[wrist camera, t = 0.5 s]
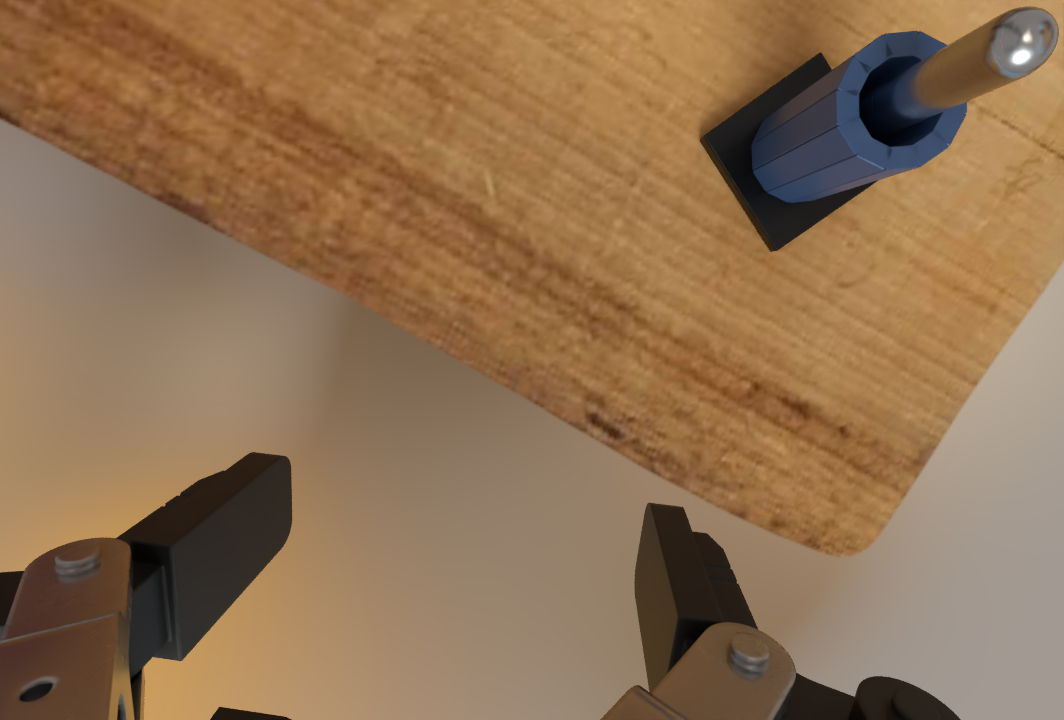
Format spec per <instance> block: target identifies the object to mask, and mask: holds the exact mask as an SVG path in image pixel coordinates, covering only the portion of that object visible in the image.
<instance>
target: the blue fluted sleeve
mask: <svg viewBox="0 0 1064 720" xmlns="http://www.w3.org/2000/svg"><path fill="white" fill-rule="evenodd" d="M946 46H948V45H946V44H944V43H942V42H940V41H938V40H936V39H934V38H932V37H931V36H929V35H927V34H925V33H923V32H921V31H919V32H918V31H910V32H900V33H889V34H884V35H881V36H880V37H878V38H877V39H875V40H874V41H873V42H871V43H870V44H868V45H867V46H866V47H864V48H863V49H861V50H860V51H859V52H857V53H856V54H854V55H853V56H852V57H850V58H849V59H847V60H846V61H845V62H843V63H842V64H840V65H839V66H838V67H836V68H835V69H833V70H832V71H831V72H829V73H828V74H827V75H825V76H824V77H822V78H821V79H820V80H818V81H817V82H815V83H814V84H813V85H811V86H810V87H808V88H807V89H806V90H804V91H803V92H802V93H800V94H799V95H797V96H796V97H795V98H793V99H792V100H790V101H789V102H788V103H786V104H785V105H783V106H782V107H781V108H779V109H778V110H776V111H775V112H774V113H772V114H771V115H770V116H768V117H767V118H765V119H764V121H763V122H762V123H761V125H760V128H759V130H758V132H757V134H756V136H755V138H754V140H753V142H752V144H753V145H752V146H751V149H752V170H753V173H754V175H755V176H756V178H757V179H758V181H759V182H760V184H761V186H762V187H763V189H764V190H765V191H767V193H769V194H771V195H773V196H775V197H777V198H779V199H781V200H783V201H785V202H789V203H794V202H805V201H813V200H816V199H819V198H822V197H826V196H829V195H832V194H835V193H838V192H842V191H845V190H848V189H851V188H854V187H858V186H861V185H864V184H867V183H870V182H874V181H877V180H880V179H883V178H886V177H890V176H893V175H896V174H899V173H902V172H906V171H909V170H912V169H915V168H918V167H921V166H922V165H924V164H925V163H927V162H928V161H930V160H931V159H932V158H934V157H935V156H937V155H938V154H940V153H941V152H943V151H944V150H945V149H947V148H948V146H950V144H951V143H952V141H953V139H954V137H955V135H956V133H957V131H958V129H959V127H960V126H961V124H962V122H963V120H964V118H965V116H966V114H965V113H966V112H967V102H965V103H962V104H960V105H958V106H955V107H953V108H951V109H948V110H946V111H944V112H941V113H939V114H937V115H934V116H932V117H930V118H927V119H925V120H923V121H920V122H918V123H916V124H913V125H911V126H909V127H906V128H904V129H902V130H899V131H897V132H895V133H892V134H890V135H888V136H885V137H883V138H881V139H878V140H875V139H874V138H872V137H871V136H870V134H869V132H868V131H867V129H866V127H865V126H864V124H863V122H862V121H861V119H860V117H859V97H860V96H862V95H863V94H865V93H867V92H868V91H870V90H872V89H874V88H875V87H877V86H879V85H881V84H882V83H884V82H886V81H887V80H889V79H891V78H893V77H894V76H896V75H898V74H899V73H901V72H903V71H905V70H906V69H908V68H910V67H912V66H913V65H915V64H917V63H918V62H920V61H922V60H924V59H925V58H927V57H929V56H930V55H932V54H934V53H936V52H937V51H939V50H941V49H942V48H944V47H946Z"/></svg>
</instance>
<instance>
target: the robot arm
mask: <svg viewBox="0 0 1064 720" xmlns="http://www.w3.org/2000/svg"><path fill="white" fill-rule="evenodd" d="M291 524H292V489H291V465H290V461H289V459H288V458H287V457H286V456H280V455H272V454H271V455H270V454H264V453H256V452H252V453H249V454H248V455H246V456H245V457H243V458H242V459H241V460H239V461H238V462H237V463H235V464H234V465H232V466H231V467H230V468H228V469H227V470H226V471H221V472H219V473H216V474H214V475H211V476H208V477H206V478H203V479H201V480H199V481H197V482H196V483H194V484H193V485H191V486H190V487H189V488H187V489H186V490H185V491H183V492H181V494H180V496H176V497H174V498H173V499H172V500H170V501H169V502H167V503H166V505H165V507H163V506H162V507H160V508H159V509H157V510H156V511H154V512H153V513H151V514H150V515H149V516H147V517H146V518H144V519H143V520H142V521H140V522H139V523H137V524H136V525H135V526H133V527H131V528H130V529H129V530H127V531H126V532H125V533H123V534H121V535H120V536H119V537H117V538H116V539H115V538H92V539H85V540H80V541H75V542H72V543H68V544H65V545H63V546H60V547H57V548H55V549H53V550H50V551H48V552H46V553H45V554H43V555H41V556H39V557H38V558H36V559H35V560H34V561H33V562H32V563H30V564H29V565H28V567H27V568H26V569H25V571H16V572H2V573H0V720H144V694H145V677H144V668H143V667H144V666H145V665H146V663H147V662H148V661H149V660H150V659H151V658H152V657H157V658H164V659H170V660H177V661H182V660H183V659H184V658H185V657H186V655H187V654H188V653H189V652H190V651H191V650H192V649H193V648H194V647H195V645H196V644H197V643H198V642H199V641H200V640H201V639H202V637H203V636H204V635H205V634H206V633H207V632H208V631H209V630H210V628H211V627H212V626H213V625H214V624H215V623H216V622H217V620H218V619H219V618H220V617H221V616H222V615H223V614H224V613H225V612H226V610H227V609H228V608H229V607H230V606H231V605H232V604H233V603H234V601H235V600H236V599H237V598H238V597H239V596H240V595H241V594H242V592H243V591H244V590H245V589H246V588H247V587H248V585H250V583H251V582H252V581H253V580H254V579H255V578H256V577H257V576H258V574H259V573H260V572H261V571H262V570H263V569H264V568H265V566H266V565H267V564H268V563H269V562H270V561H271V560H272V559H273V557H274V556H275V555H276V554H277V553H278V552H279V551H280V550H281V548H282V547H283V546H284V544H285V542H286V540H287V538H288V536H289V533H290V529H291ZM635 599H636V605H637V611H638V618H639V625H640V632H641V638H642V645H643V651H644V658H645V665H646V671H647V678H648V685H649V691H650V693H649V692H648V691H646V690H645V689H644V688H642V687H641V686H639V685H636V686H633V687H632V688H630V689H629V690H628V691H627V692H626V693H625V694H624V695H623V696H622V697H621V698H620V699H619V700H618V701H617V703H616V704H615V705H614V706H613V707H612V708H611V709H610V710H609V711H608V712H607V714H605V715H604V717H603V718H602V719H601V720H960V719H959V717H958V716H957V715H956V714H955V713H954V712H953V711H952V710H950V709H949V708H948V707H947V706H946V705H945V704H943V703H942V702H941V701H939V700H938V699H937V698H935V697H934V696H932V695H931V694H929V693H927V692H926V691H924V690H922V689H920V688H918V687H916V686H914V685H912V684H909V683H907V682H904V681H901V680H898V679H894V678H890V677H882V676H880V677H879V676H875V677H870V678H867V679H865V680H863V681H862V682H861V683H860V684H859V686H858V689H857V692H856V695H855V697H853V696H851V695H848V694H845V693H843V692H840V691H838V690H835V689H832V688H830V687H827V686H824V685H822V684H819V683H816V682H814V681H812V680H809V679H807V678H805V677H803V676H801V675H800V674H798V673H796V669H795V665H794V663H793V660H792V658H791V657H790V655H789V654H788V652H786V650H785V649H784V648H783V647H782V646H781V645H780V644H779V643H778V642H777V641H775V640H774V639H773V638H771V637H770V636H768V635H767V634H765V633H763V632H761V631H759V630H758V628H757V626H756V623H755V621H754V619H753V616H752V614H751V612H750V610H749V607H748V605H747V603H746V600H745V598H744V596H743V594H742V591H741V589H740V587H739V585H738V584H737V580H736V577H735V575H734V573H733V571H732V569H730V564H729V562H728V559H727V557H726V554H725V552H724V550H723V548H721V547H720V546H719V545H718V544H717V543H716V542H715V541H714V540H713V539H712V538H711V537H710V536H709V535H708V534H706V533H699V532H692V530H691V527H690V524H689V521H688V518H687V516H686V513H685V510H684V508H683V507H678V506H671V505H662V504H655V503H648V504H647V506H646V510H645V514H644V520H643V526H642V532H641V538H640V545H639V550H638V556H637V562H636V569H635ZM210 720H291V719H289V718H287V717H283V716H276V715H269V714H263V713H257V712H250V711H243V710H237V709H230V708H223V707H219V708H218V710H217V711H216V712H215V714H214V715H213V716H212V718H211V719H210Z"/></svg>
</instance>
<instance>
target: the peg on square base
mask: <svg viewBox="0 0 1064 720" xmlns="http://www.w3.org/2000/svg"><path fill="white" fill-rule="evenodd" d="M1058 36H1059V28H1058V24H1057V21H1056V19H1055V18H1054V17H1053V15H1052V14H1050V13H1049V12H1048V11H1046V10H1044V9H1041V8H1038V7H1020V8H1016V9H1013V10H1009V11H1007V12H1005V13H1003V14H1001V15H999V16H998V17H996V18H994V19H992V20H991V21H989V22H987V23H985V24H984V25H982V26H980V27H979V28H977V29H975V30H973V31H972V32H970V33H968V34H967V35H965V36H963V37H961V38H960V39H958V40H956V41H955V42H953V43H951V44H949V45H948V46H946V47H944V48H942V49H941V50H939V51H937V52H936V53H934V54H932V55H930V56H929V57H927V58H925V59H924V60H922V61H920V62H918V63H917V64H915V65H913V66H912V67H910V68H908V69H906V70H905V71H903V72H901V73H899V74H898V75H896V76H894V77H893V78H891V79H889V80H887V81H886V82H884V83H882V84H881V85H879V86H877V87H875V88H874V89H872V90H870V91H868V92H867V93H865V94H863V95H862V96H860V97H859V117H860V119H861V121H862V122H863V124H864V126H865V127H866V129H867V131H868V132H869V134H870V136H871V137H872V138H874V139H875V140H878V139H881V138H883V137H885V136H888V135H890V134H892V133H895V132H897V131H899V130H902V129H904V128H906V127H909V126H911V125H913V124H916V123H918V122H920V121H923V120H925V119H927V118H930V117H932V116H934V115H937V114H939V113H941V112H944V111H946V110H948V109H951V108H953V107H955V106H958V105H960V104H962V103H965V102H967V101H969V100H972V99H974V98H976V97H979V96H981V95H983V94H986V93H988V92H990V91H993V90H995V89H997V88H1000V87H1002V86H1004V85H1007V84H1009V83H1011V82H1014V81H1016V80H1018V79H1021V78H1023V77H1025V76H1027V75H1029V74H1031V73H1032V72H1034V71H1035V70H1037V69H1038V68H1039V67H1040V66H1041V65H1043V64H1044V63H1045V62H1046V60H1047V59H1048V58H1049V57H1050V55H1051V54H1052V52H1053V51H1054V49H1055V47H1056V44H1057V41H1058ZM831 71H832V70H831V68H830V66H829V65H828V63H827V61H826V60H825V58H824V56H823V55H822V53H819V54H817V55H816V56H814V57H813V58H812V59H810V60H809V61H807V62H806V63H805V64H803V65H802V66H801V67H799V68H798V69H796V70H795V71H794V72H792V73H791V74H789V75H788V76H787V77H785V78H784V79H782V80H781V81H780V82H778V83H777V84H775V85H774V86H773V87H771V88H770V89H768V90H767V91H766V92H764V93H763V94H761V95H760V96H759V97H757V98H756V99H754V100H753V101H752V102H750V103H749V104H747V105H746V106H745V107H743V108H742V109H741V110H739V111H738V112H736V113H735V114H734V115H732V116H731V117H729V118H728V119H727V120H725V121H724V122H722V123H721V124H720V125H718V126H717V127H715V128H714V129H713V130H711V131H710V132H708V133H707V134H706V135H704V136H703V137H702V138H701V139H700V142H701V143H702V145H703V146H704V148H705V150H706V151H707V153H708V154H709V156H710V157H711V159H712V161H713V162H714V164H715V165H716V167H717V168H718V170H719V172H720V173H721V175H722V176H723V178H724V179H725V181H726V183H727V184H728V186H729V187H730V189H731V190H732V192H733V194H734V195H735V197H736V198H737V200H738V201H739V203H740V204H741V206H742V208H743V209H744V211H745V212H746V214H747V215H748V217H749V219H750V220H751V222H752V223H753V225H754V226H755V228H756V230H757V231H758V233H759V234H760V236H761V237H762V239H763V241H764V242H765V244H766V245H767V247H768V248H769V250H770V251H777V250H779V249H780V248H782V247H783V246H785V245H786V244H787V243H789V242H790V241H792V240H793V239H795V238H796V237H798V236H799V235H800V234H802V233H803V232H805V231H806V230H808V229H809V228H810V227H812V226H813V225H815V224H816V223H818V222H819V221H821V220H822V219H823V218H825V217H826V216H828V215H829V214H831V213H832V212H834V211H835V210H836V209H838V208H839V207H841V206H842V205H844V204H845V203H847V202H848V201H849V200H851V199H852V198H854V197H855V196H857V195H858V194H860V193H861V192H862V191H864V190H865V189H867V188H868V187H870V186H871V185H873V184H874V183H875V182H877V181H878V180H877V181H874V182H870V183H867V184H864V185H861V186H858V187H854V188H851V189H848V190H845V191H842V192H838V193H835V194H832V195H829V196H826V197H822V198H819V199H816V200H813V201H805V202H794V203H789V202H785V201H783V200H781V199H779V198H777V197H775V196H773V195H771V194H769V193H767V191H765V190H764V189H763V187H762V186H761V184H760V182H759V181H758V179H757V178H756V176H755V175H754V173H753V170H752V149H751V146H752V145H753V144H752V142H753V140H754V138H755V136H756V134H757V132H758V130H759V128H760V125H761V123H762V122H763V121H764V119H765V118H767V117H768V116H770V115H771V114H772V113H774V112H775V111H776V110H778V109H779V108H781V107H782V106H783V105H785V104H786V103H788V102H789V101H790V100H792V99H793V98H795V97H796V96H797V95H799V94H800V93H802V92H803V91H804V90H806V89H807V88H808V87H810V86H811V85H813V84H814V83H815V82H817V81H818V80H820V79H821V78H822V77H824V76H825V75H827V74H828V73H829V72H831Z"/></svg>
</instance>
